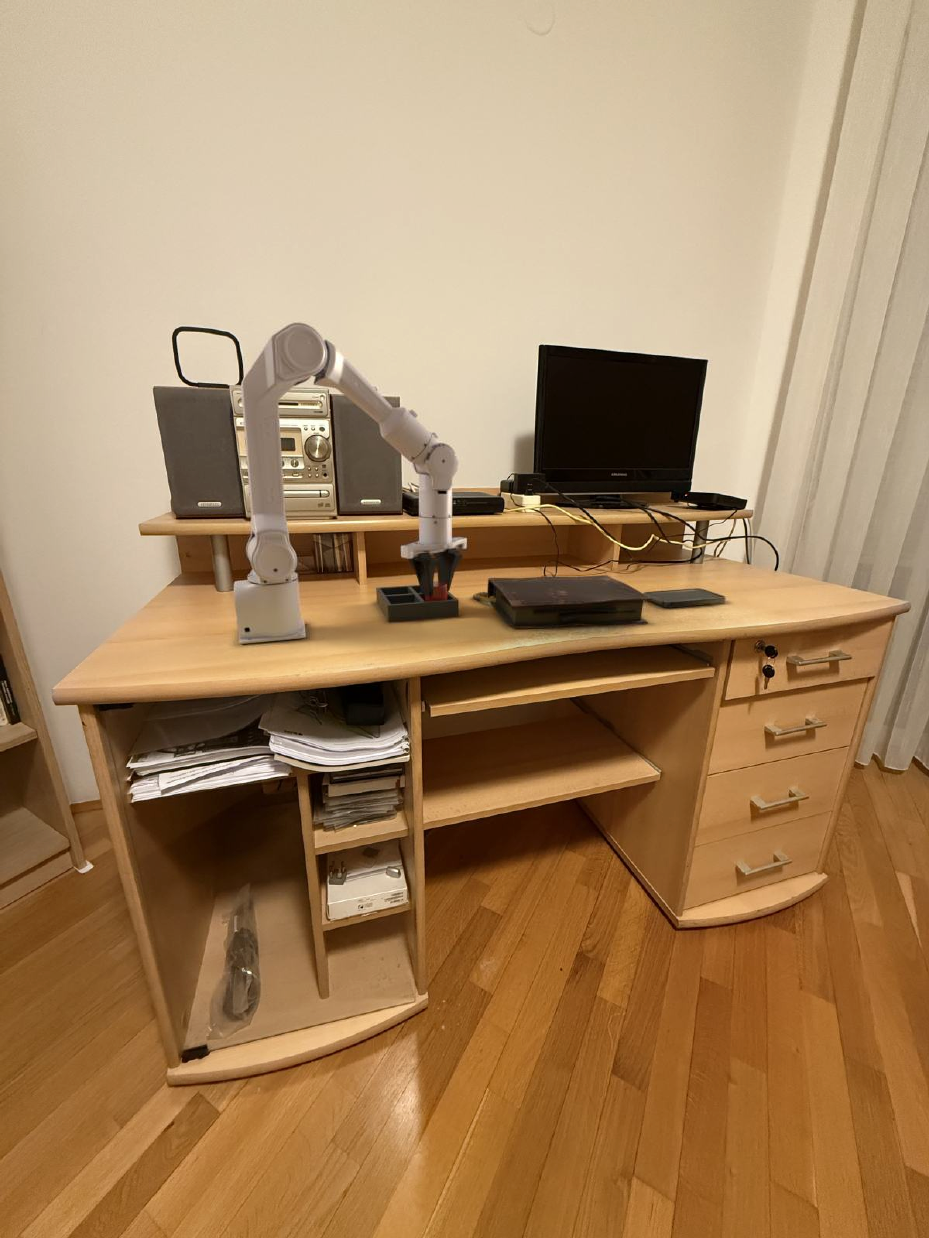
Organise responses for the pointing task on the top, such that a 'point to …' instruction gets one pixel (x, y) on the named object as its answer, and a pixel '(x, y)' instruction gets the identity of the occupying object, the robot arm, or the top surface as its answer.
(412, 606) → the tray
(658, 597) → the phone
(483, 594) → the seal
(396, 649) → the top surface
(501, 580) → the diary
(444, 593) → the red short cylinder
